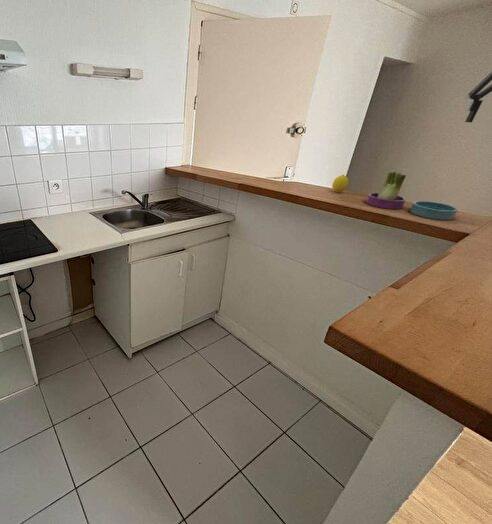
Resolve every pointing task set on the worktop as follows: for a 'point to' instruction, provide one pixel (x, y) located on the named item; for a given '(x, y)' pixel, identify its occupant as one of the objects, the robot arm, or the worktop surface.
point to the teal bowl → (433, 210)
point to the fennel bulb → (391, 186)
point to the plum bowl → (385, 202)
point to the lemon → (340, 183)
